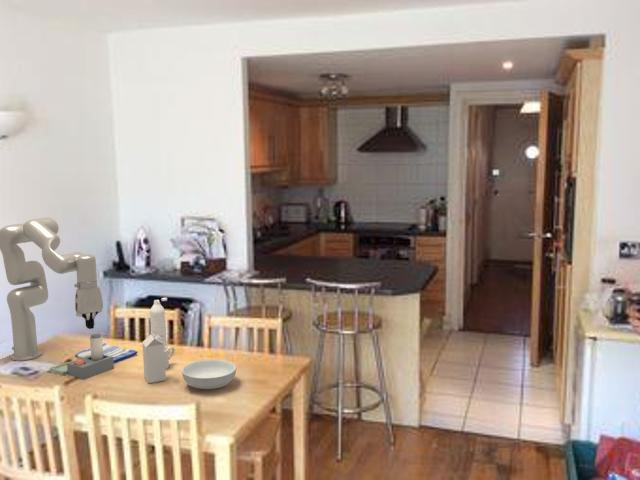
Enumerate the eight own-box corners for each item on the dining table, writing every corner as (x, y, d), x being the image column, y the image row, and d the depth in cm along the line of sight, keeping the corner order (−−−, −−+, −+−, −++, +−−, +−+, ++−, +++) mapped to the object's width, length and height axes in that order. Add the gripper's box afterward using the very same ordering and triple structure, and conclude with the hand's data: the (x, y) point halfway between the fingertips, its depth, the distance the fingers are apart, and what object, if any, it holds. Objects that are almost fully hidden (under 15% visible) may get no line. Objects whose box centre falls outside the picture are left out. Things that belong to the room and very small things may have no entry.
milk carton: (148, 383, 236) (145, 337, 234) (144, 378, 243) (141, 332, 240) (166, 380, 240) (163, 334, 237) (162, 375, 246) (159, 330, 243)
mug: (150, 374, 247) (149, 355, 246) (139, 367, 255) (138, 349, 254) (180, 366, 255) (179, 348, 254) (169, 360, 263) (168, 342, 262)
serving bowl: (212, 399, 221) (211, 381, 220) (171, 388, 232) (170, 371, 231) (247, 381, 238) (247, 364, 237) (208, 371, 249) (207, 355, 248)
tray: (50, 372, 251) (50, 368, 251) (69, 365, 258) (69, 361, 258) (63, 375, 246) (63, 372, 246) (82, 369, 254) (82, 365, 253)
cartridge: (89, 365, 253) (87, 335, 251) (98, 361, 257) (97, 332, 255) (96, 367, 250) (94, 337, 248) (106, 363, 254) (104, 334, 252)
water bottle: (158, 357, 267) (155, 302, 264) (149, 354, 271) (146, 300, 268) (173, 352, 274) (171, 298, 271) (164, 349, 278) (161, 296, 275)
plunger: (74, 369, 246) (74, 360, 245) (81, 367, 248) (80, 358, 248) (79, 370, 244) (78, 361, 243) (85, 368, 247) (85, 359, 246)
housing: (67, 375, 247) (66, 363, 246) (98, 364, 260) (97, 353, 259) (83, 379, 242) (82, 367, 241) (113, 368, 254) (113, 356, 254)
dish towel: (105, 347, 284) (105, 341, 284) (139, 356, 271) (139, 350, 271) (73, 358, 270) (73, 352, 269) (107, 367, 257) (107, 361, 257)
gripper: (73, 289, 238) (76, 333, 241) (108, 283, 249) (111, 326, 252) (65, 286, 243) (68, 330, 246) (100, 280, 254) (102, 322, 257)
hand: (90, 328), depth 249 cm, fingers closed
